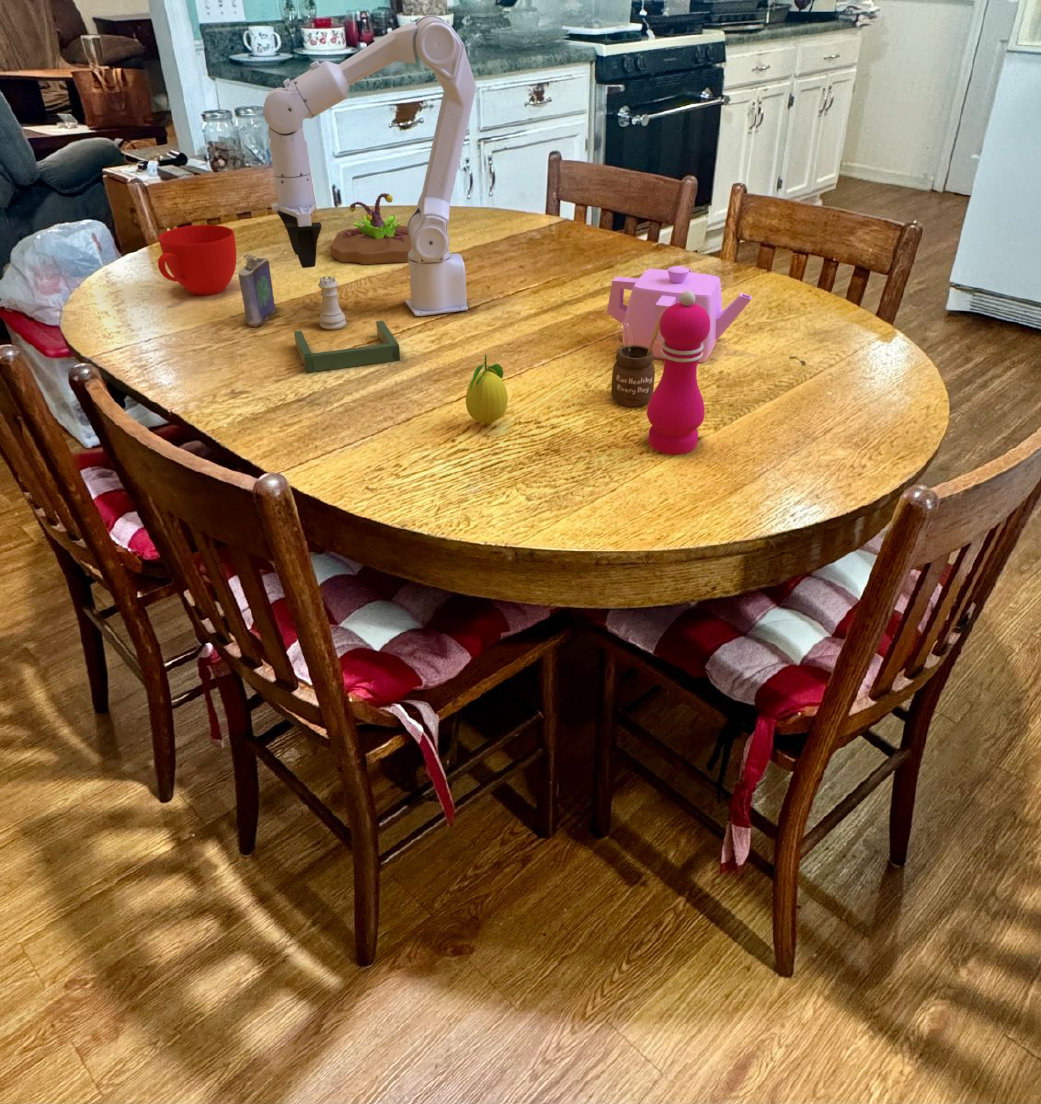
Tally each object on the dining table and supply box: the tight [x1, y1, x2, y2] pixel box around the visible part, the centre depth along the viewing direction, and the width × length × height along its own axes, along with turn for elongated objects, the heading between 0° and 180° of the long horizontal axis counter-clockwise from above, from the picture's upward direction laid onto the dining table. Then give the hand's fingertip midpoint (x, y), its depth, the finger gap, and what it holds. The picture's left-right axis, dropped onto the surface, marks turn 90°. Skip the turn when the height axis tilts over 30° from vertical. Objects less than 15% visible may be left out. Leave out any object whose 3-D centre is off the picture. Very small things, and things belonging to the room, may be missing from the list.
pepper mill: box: [646, 291, 710, 455], centre depth 111 cm, size 7×7×20 cm
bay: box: [293, 320, 401, 374], centre depth 141 cm, size 14×11×2 cm
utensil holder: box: [610, 315, 662, 407], centre depth 124 cm, size 6×6×12 cm
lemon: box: [465, 353, 509, 426], centre depth 118 cm, size 7×6×10 cm
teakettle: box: [606, 265, 753, 363], centre depth 140 cm, size 17×17×12 cm
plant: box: [329, 192, 412, 265], centre depth 183 cm, size 20×20×11 cm
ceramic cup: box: [157, 224, 237, 296], centre depth 162 cm, size 13×17×10 cm
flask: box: [238, 253, 277, 328], centre depth 151 cm, size 9×3×11 cm, turn 172°
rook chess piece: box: [317, 275, 347, 331], centre depth 149 cm, size 4×4×8 cm
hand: (304, 260), depth 150 cm, fingers open, 7 cm apart
